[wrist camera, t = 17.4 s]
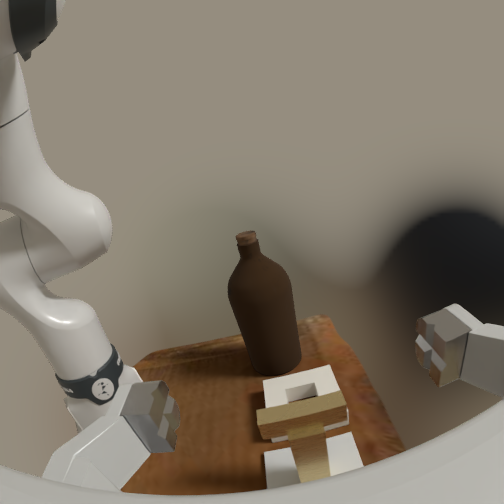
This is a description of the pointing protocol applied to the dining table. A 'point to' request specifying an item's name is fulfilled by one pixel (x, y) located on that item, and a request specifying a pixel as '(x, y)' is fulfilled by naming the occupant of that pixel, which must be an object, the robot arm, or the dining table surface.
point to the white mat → (284, 467)
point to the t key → (305, 430)
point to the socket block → (301, 390)
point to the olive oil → (264, 309)
